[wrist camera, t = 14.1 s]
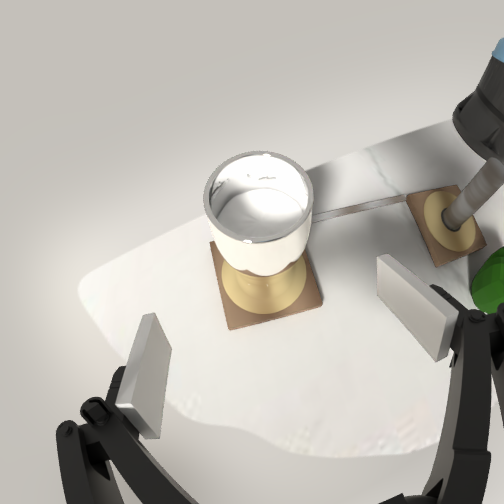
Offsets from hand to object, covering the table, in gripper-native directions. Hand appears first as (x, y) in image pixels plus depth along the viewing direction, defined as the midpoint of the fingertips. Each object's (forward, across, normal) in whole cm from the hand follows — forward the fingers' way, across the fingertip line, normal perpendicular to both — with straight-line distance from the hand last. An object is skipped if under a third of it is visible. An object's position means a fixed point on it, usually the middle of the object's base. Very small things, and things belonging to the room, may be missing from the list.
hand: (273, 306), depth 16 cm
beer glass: (+14, +1, -5) cm, 15 cm away
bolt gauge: (+15, +14, -6) cm, 21 cm away
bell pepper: (+8, +29, -14) cm, 33 cm away
